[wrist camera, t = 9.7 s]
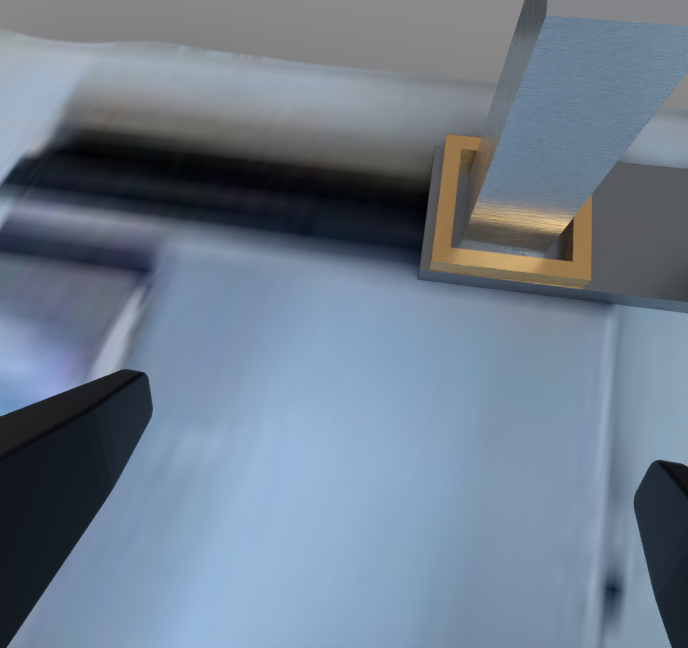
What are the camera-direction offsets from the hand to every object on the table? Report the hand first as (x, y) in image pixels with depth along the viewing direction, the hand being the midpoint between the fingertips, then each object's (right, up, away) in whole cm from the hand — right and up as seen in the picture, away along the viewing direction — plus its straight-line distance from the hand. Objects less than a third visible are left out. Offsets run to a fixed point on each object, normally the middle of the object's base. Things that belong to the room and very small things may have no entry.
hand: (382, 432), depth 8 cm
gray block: (+7, +7, +15) cm, 18 cm away
